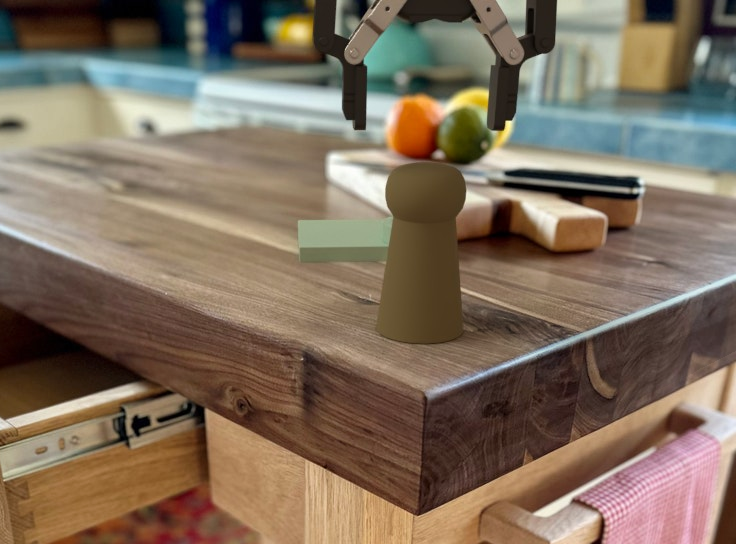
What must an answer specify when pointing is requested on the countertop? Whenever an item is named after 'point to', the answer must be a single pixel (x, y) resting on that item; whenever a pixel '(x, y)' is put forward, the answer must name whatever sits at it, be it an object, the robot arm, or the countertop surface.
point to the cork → (422, 255)
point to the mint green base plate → (344, 240)
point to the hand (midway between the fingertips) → (427, 129)
